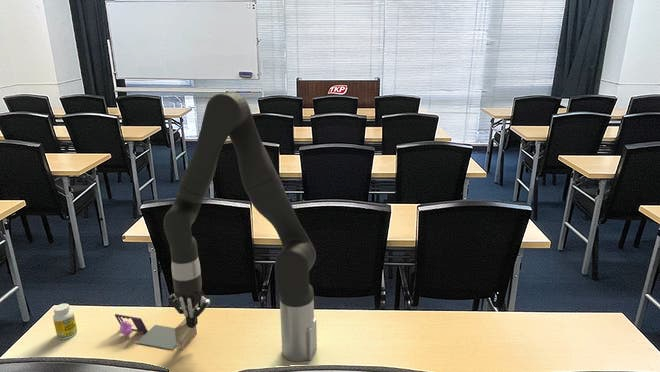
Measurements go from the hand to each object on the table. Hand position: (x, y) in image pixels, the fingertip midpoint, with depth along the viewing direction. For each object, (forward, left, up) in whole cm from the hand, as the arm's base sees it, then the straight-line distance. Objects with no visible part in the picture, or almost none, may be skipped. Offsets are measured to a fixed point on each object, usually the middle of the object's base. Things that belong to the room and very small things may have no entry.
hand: (192, 326), depth 130 cm
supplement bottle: (+39, +6, -6) cm, 40 cm away
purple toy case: (+21, +1, -6) cm, 22 cm away
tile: (+2, 0, -6) cm, 6 cm away
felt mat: (+10, 0, -6) cm, 12 cm away
